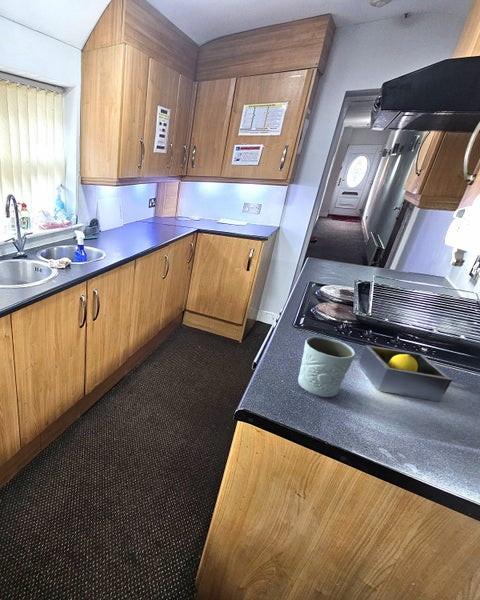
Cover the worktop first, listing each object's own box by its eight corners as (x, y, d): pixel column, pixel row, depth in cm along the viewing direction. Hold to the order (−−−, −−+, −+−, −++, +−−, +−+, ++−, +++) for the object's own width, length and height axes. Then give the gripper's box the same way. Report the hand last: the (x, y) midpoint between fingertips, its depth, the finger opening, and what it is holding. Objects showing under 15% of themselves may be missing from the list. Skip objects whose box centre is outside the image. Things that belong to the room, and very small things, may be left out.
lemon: (410, 379, 87) (422, 354, 84) (410, 389, 84) (423, 363, 80) (383, 371, 91) (394, 346, 88) (381, 380, 87) (393, 354, 84)
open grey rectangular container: (411, 373, 91) (421, 353, 89) (440, 402, 80) (452, 379, 78) (357, 364, 95) (365, 344, 92) (377, 390, 84) (387, 368, 81)
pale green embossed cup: (320, 402, 79) (335, 361, 74) (284, 378, 88) (296, 339, 83) (350, 393, 82) (366, 353, 77) (312, 370, 91) (324, 333, 86)
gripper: (554, 222, 68) (519, 284, 74) (481, 211, 86) (457, 262, 91) (513, 220, 70) (482, 281, 75) (451, 210, 88) (429, 259, 93)
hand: (468, 270), depth 84 cm, fingers open, 8 cm apart
